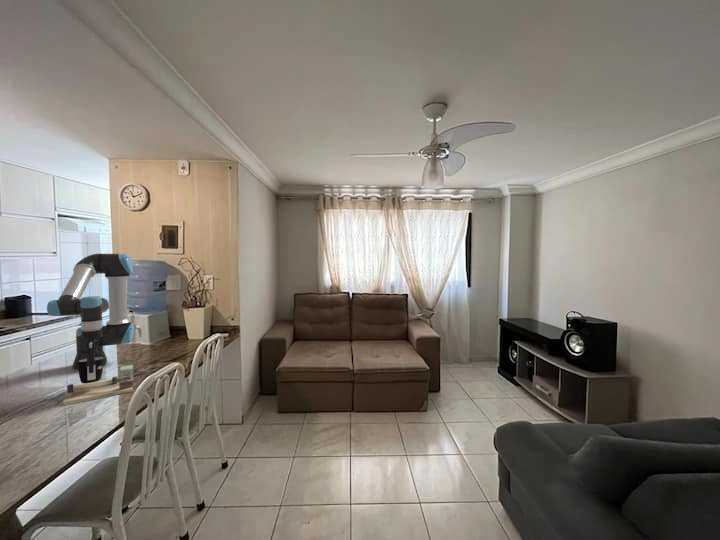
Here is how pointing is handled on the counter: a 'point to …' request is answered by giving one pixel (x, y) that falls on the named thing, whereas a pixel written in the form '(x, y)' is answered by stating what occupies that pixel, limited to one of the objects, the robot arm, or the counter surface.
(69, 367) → the counter surface
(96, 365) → the mug
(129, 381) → the board
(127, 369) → the block
